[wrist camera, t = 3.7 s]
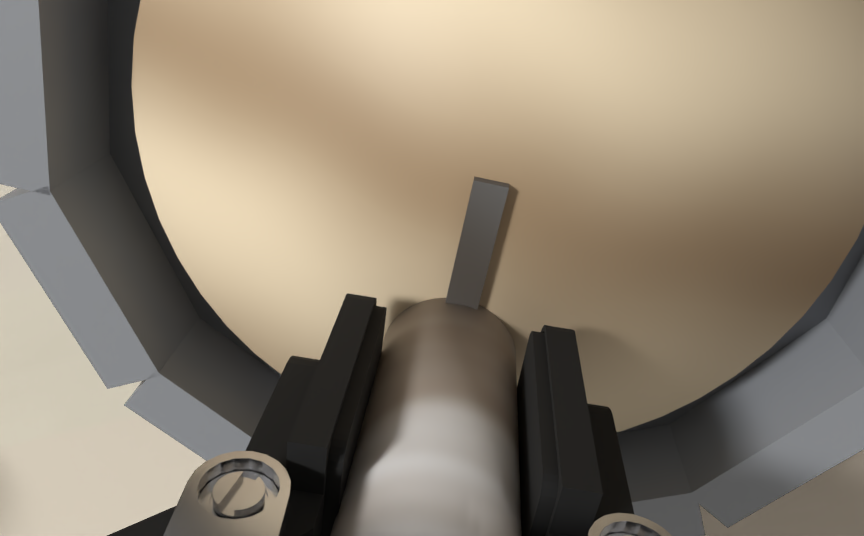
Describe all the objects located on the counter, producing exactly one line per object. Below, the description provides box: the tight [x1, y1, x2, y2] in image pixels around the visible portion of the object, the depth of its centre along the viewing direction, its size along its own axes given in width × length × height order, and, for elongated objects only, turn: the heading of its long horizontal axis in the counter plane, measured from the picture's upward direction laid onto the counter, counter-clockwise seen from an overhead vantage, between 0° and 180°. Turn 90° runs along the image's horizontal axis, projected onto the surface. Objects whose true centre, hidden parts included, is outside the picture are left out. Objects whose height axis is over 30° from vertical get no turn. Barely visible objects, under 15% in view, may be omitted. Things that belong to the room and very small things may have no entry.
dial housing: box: [0, 0, 864, 536], centre depth 12 cm, size 18×18×4 cm
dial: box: [131, 0, 864, 536], centre depth 9 cm, size 12×12×7 cm
